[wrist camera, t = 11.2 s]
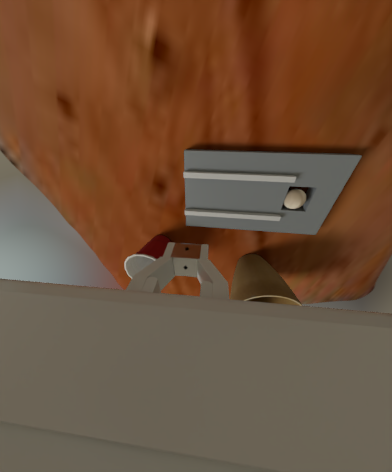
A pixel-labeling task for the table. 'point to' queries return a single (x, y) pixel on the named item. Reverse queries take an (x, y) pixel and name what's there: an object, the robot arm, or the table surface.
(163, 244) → the plastic cup
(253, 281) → the plant pot
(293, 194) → the ball
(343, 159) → the hole board
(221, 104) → the table surface
